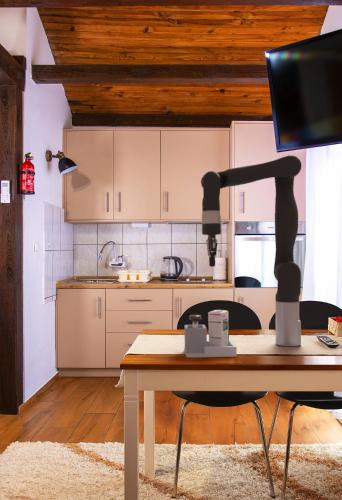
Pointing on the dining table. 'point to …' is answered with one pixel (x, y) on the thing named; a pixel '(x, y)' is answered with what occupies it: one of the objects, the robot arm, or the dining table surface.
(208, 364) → the dining table surface
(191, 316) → the black knob with stem
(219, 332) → the syrup box
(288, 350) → the dining table surface
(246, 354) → the dining table surface
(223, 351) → the tray
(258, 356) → the dining table surface
